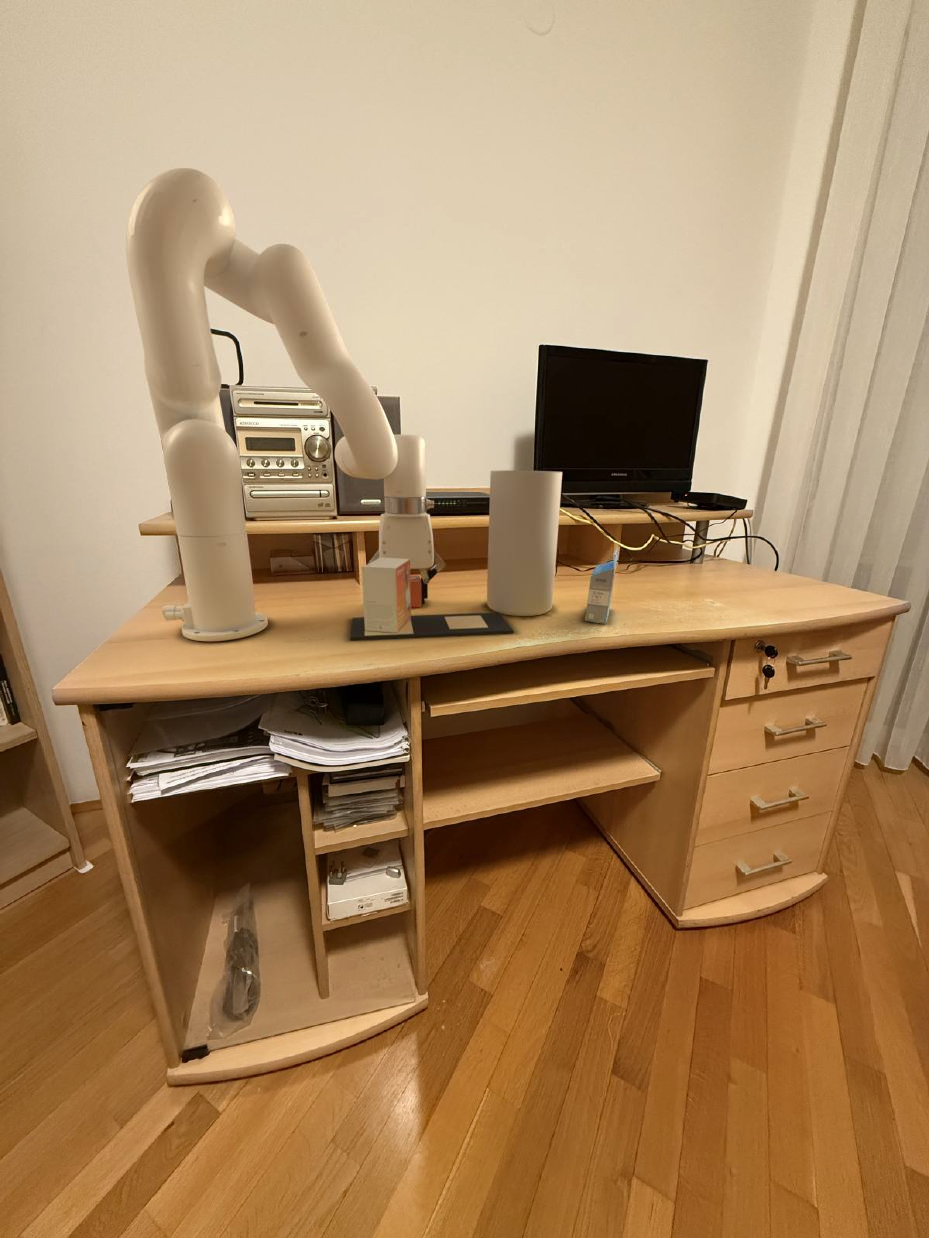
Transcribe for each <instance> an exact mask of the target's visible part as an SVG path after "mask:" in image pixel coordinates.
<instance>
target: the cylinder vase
mask: <svg viewBox="0 0 929 1238" xmlns="http://www.w3.org/2000/svg"><path fill="white" fill-rule="evenodd" d="M489 478H490V480H489V509H488V510H489V512H488V514H489V515H488V543H487V545H488V547H487V575H486V576H487V577H486V578H487V579H486V605H487V607H488V609H490V610H491V611H493V612H499V613H500V615H506V616H514V617H533V616H534V617H535V616H540V615H543V614H546V613H548V612H549V611H551V610H552V607H553V603H554V591H555V590H554V589H555V576H556V564H557V561H556V560H557V549H558V537H559V536H558V535H559V522H560V520H559V519H560V509H561V508H560V507H561V494H562V481H563V471H555V470H553V471H552V470H551V471H550V470H510V469H509V470H504V469H503V470H501V469H500V470H490V475H489Z"/></svg>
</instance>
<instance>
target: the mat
mask: <svg viewBox="0 0 929 1238" xmlns="http://www.w3.org/2000/svg"><path fill="white" fill-rule="evenodd" d="M502 634H503V635H505V634H514V629H513V628H512V627H511V626H510V624H509V623H508V622H507V620H505V618H504V617H503V616H502V614H501V613H499V612H495V611H493V612H472V613H471V612H470V613H469V612H468V613H467V612H466V613H444V614H442V613H441V614H415V615H414V614H413V615H411V619H410V620H409V621H408V622H407V623H406V624H405V625H404V626H403V627H402V628H401V629H400V630H399V632H398V633H393V632H378V631H365V623H364V616H363V617H361V616H360V617H352V622H351V628H350V636H349V640H350V641H366V640H367V641H368V640H391V639H412V638H434V637H435V638H436V637H437V638H438V637H460V636H478V635H479V636H480V635H502Z"/></svg>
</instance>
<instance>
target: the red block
mask: <svg viewBox="0 0 929 1238" xmlns="http://www.w3.org/2000/svg"><path fill="white" fill-rule="evenodd" d="M410 592H411V608H422V605H423V604H422V603H421V576H420V575H410Z"/></svg>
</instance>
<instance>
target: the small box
mask: <svg viewBox="0 0 929 1238" xmlns="http://www.w3.org/2000/svg"><path fill="white" fill-rule="evenodd" d="M368 563H369V562H368ZM368 563H367V564H365V565H363V566H361V580H362V581H361V582H362V601H363V602H362V604H363V605H362V606H363V617H364V623H365V631H378V632H393V633H398V632H399V630H400V629H401V628H402V627H403V626H404V625H405V624H406V623H407V622H408V621H409V620H410V619H411V616H412V607H411V592H410V576H411V569H410V559H398V558H378V559H377V560H375V561H373V562H371V563H369V564H368Z"/></svg>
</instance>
